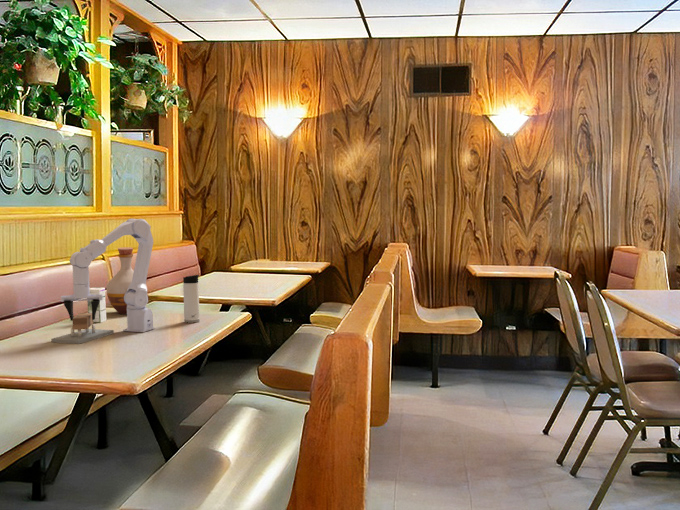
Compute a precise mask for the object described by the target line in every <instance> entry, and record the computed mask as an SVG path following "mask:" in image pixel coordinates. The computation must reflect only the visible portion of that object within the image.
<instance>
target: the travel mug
mask: <svg viewBox="0 0 680 510" xmlns="http://www.w3.org/2000/svg"><path fill="white" fill-rule="evenodd" d="M199 277H200V274H195V275H193V274H192V275H187V276H183V277H182V279H183V282H182V284H183V285H182V287H183V289H182V290H183V318H184V319H183V321H184V323H185V322H188V323H187V324H194V323H193V322H196V323H199V322H200V293H199V292H200V291H199Z"/></svg>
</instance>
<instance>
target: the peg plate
mask: <svg viewBox="0 0 680 510" xmlns="http://www.w3.org/2000/svg"><path fill="white" fill-rule="evenodd" d="M114 332H115V330H113V329H97V328H96V324H92V325H91V328H90V327H89V328H88V329H79V330H77V331H75V330H73V327H71V328H70V333H68V334H65V335H60V336H56V337H54V338H51V343H60V344H62V343H63V344H73V345H74V344H77V345H80V344H83V343H86V342H89V341H93V340H97V339H99V338H100V339H101V338H103V337H106V336H110V335H112V334H114Z"/></svg>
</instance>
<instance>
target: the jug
mask: <svg viewBox="0 0 680 510" xmlns="http://www.w3.org/2000/svg"><path fill="white" fill-rule="evenodd" d="M133 250H134V248H133V247H132V246H131V247H130V246H129V247H125V246H124V247H117V251H118V255H117V257H118V258H119V262H120V269H119V270H118V271H117V273H115V275H113V277H112V278H111V279H110V280H109V281H108V282H107V285H106V288H105V291H106V295H107V298H108V299H107V300H109V301H108V302H109V303H110V305H111V306H112V308H113V310H115V312H117V313H118V314H119V315H127V304H126V303H125V301H124V295H125V293H126V292H127V290H128V286H129V285H130V284H131V283H132V278H133V272H134V269H133V268H132V260H133V257H134V253H133V252H134V251H133ZM145 285H146V287H147V288H148V286H147V283H146V284H145Z"/></svg>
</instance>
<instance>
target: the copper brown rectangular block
mask: <svg viewBox="0 0 680 510" xmlns="http://www.w3.org/2000/svg"><path fill="white" fill-rule="evenodd" d="M92 325H94V323H93V320H92V313H88V312H87V313H86V312H84V313H78V314H76V315H74V318H73V321H72V328H73V330H74V331H78V330H79V329H81V330H85V329H88V328H89V329H90V327H92Z"/></svg>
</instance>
